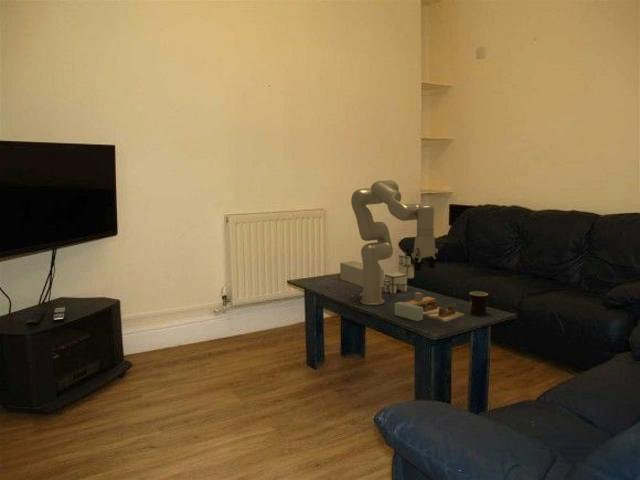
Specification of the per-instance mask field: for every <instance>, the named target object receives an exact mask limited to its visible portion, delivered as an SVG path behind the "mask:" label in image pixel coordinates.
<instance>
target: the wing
mask: <svg viewBox="0 0 640 480" xmlns="http://www.w3.org/2000/svg"><path fill="white" fill-rule="evenodd" d="M423 295H424V294H423V293H422V292H419V291H418V292H414V293H413V300H409V301H405V302H404V303H408V304H412V305H416V306H421V303H425V304H430V301H436V298H435V297H431V296H424V297H423Z"/></svg>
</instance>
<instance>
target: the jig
mask: <svg viewBox="0 0 640 480" xmlns="http://www.w3.org/2000/svg"><path fill="white" fill-rule="evenodd" d="M420 307H423V317H427V318H432V319H435V320H438V321H440V322H441V321H442V322H445V323H446V322H449V321H452V320H455V319H458V318H461V317H465V313H464V312H463V313H462V312H458V311H457V310H456V306H454V305H450V304H449V305H448V306H447V308H443V307H440V306H438V302H437V301H436V300H435V301H430V303H427V304H425V303H421V305H420Z"/></svg>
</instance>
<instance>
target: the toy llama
mask: <svg viewBox="0 0 640 480" xmlns="http://www.w3.org/2000/svg"><path fill="white" fill-rule="evenodd" d="M411 258H412V256H408V255H406V256H405V254H404V255H403V254H400V255H398V272H393V273H387V274H386V273H384V292H385V293H389V294H390V295H397V292H399V291H400V292H401V293H403V294H404V293H407V292H408V280H409V279H414V278H415V264H412V263H411V262H412V261H411V260H412V259H411Z"/></svg>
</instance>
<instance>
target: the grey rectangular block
mask: <svg viewBox="0 0 640 480" xmlns="http://www.w3.org/2000/svg"><path fill="white" fill-rule="evenodd" d="M339 265H340V266H339V274H340V278H339V279H340V280H342V281H344V282H347V281H348V283H351V284H353V285H356V286H359V287H362V288H363V262H359V261H356V260H352V261H344V262H343V261H342V262H340V263H339ZM384 280H385V269H384V268H381V288H385V285H384Z"/></svg>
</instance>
